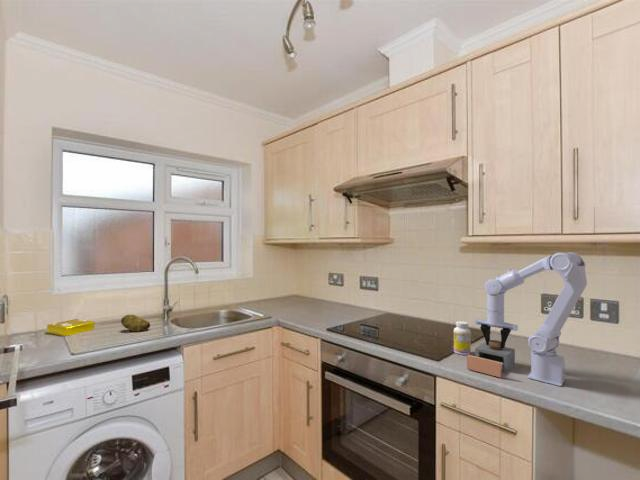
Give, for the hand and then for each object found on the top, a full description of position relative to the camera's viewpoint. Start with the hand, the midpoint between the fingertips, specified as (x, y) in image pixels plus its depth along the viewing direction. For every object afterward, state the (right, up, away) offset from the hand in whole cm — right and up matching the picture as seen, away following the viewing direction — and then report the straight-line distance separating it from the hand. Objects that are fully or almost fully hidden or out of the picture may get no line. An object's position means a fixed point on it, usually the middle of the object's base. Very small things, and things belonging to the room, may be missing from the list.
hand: (495, 346), depth 126 cm
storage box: (0, -7, 0) cm, 7 cm away
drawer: (-6, -6, -7) cm, 11 cm away
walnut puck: (0, -1, 0) cm, 1 cm away
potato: (-161, -6, +42) cm, 167 cm away
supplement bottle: (-7, -7, +13) cm, 16 cm away
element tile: (-192, -6, +39) cm, 197 cm away
